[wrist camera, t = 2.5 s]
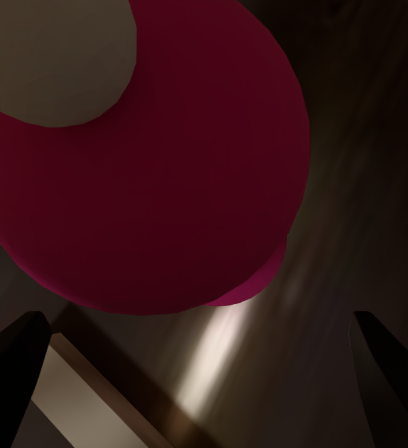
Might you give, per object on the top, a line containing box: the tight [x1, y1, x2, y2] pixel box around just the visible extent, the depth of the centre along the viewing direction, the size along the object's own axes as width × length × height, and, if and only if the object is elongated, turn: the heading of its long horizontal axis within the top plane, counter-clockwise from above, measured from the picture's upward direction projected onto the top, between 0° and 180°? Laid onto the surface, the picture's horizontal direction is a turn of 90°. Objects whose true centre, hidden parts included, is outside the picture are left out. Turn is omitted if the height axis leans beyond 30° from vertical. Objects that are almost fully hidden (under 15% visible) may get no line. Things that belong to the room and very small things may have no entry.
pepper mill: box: [0, 0, 310, 316], centre depth 12 cm, size 7×7×20 cm
